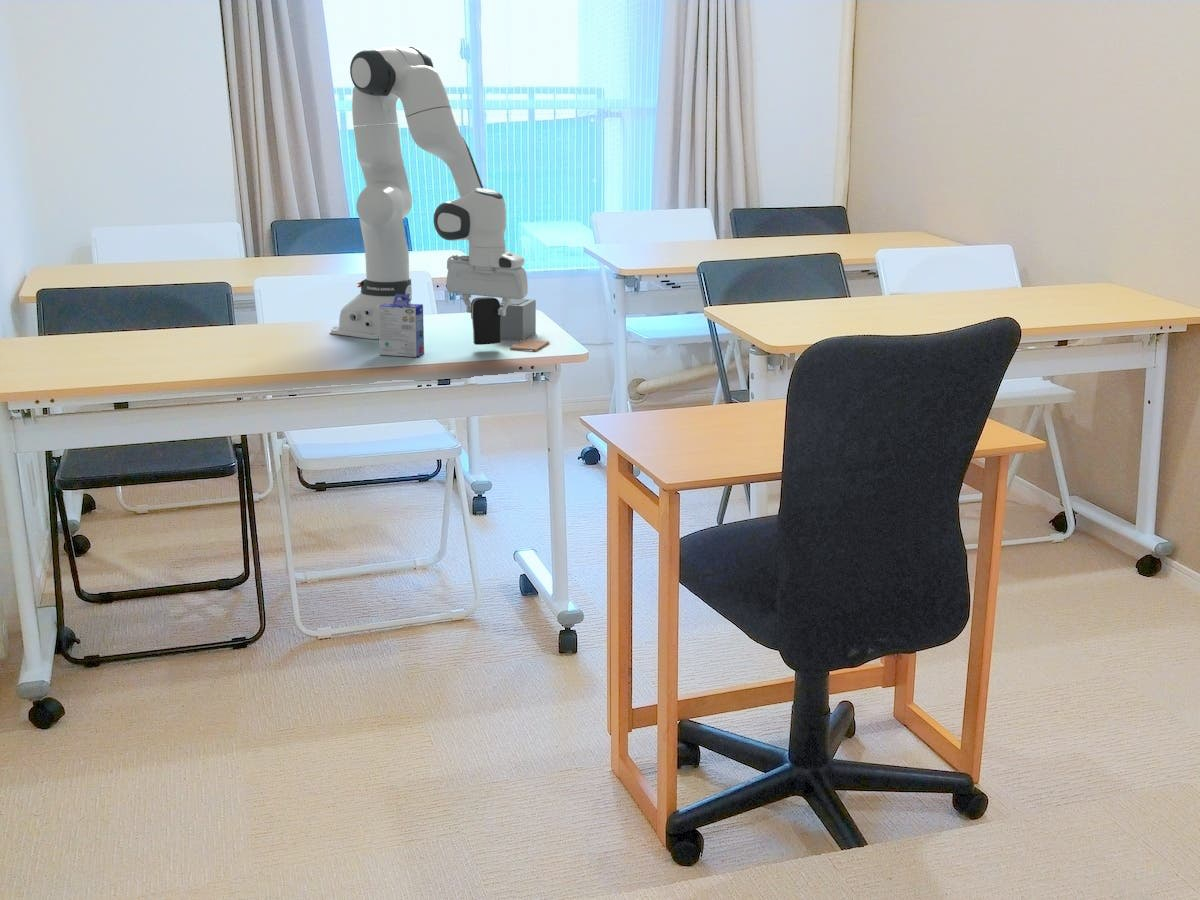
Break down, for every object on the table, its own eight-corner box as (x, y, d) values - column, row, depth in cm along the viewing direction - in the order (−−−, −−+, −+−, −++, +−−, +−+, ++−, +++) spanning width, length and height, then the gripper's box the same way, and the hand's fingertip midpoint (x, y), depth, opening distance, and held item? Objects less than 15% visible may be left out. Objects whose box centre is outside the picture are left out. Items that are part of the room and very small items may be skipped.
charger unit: (493, 338, 306) (493, 303, 303) (508, 330, 315) (507, 296, 313) (522, 340, 304) (522, 305, 301) (536, 332, 313) (536, 298, 311)
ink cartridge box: (425, 353, 288) (423, 294, 284) (417, 358, 283) (416, 298, 279) (387, 350, 290) (385, 292, 286) (378, 355, 285) (376, 296, 281)
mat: (509, 349, 293) (509, 347, 293) (523, 341, 303) (523, 339, 302) (536, 351, 292) (536, 349, 291) (549, 343, 301) (549, 341, 301)
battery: (498, 340, 295) (496, 295, 291) (501, 343, 291) (500, 297, 288) (470, 342, 292) (469, 297, 289) (474, 345, 289) (472, 299, 286)
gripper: (442, 255, 285) (441, 312, 289) (521, 262, 280) (520, 320, 284) (452, 252, 291) (451, 307, 295) (530, 259, 286) (529, 315, 290)
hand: (486, 313), depth 290 cm, fingers closed on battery, 7 cm apart
